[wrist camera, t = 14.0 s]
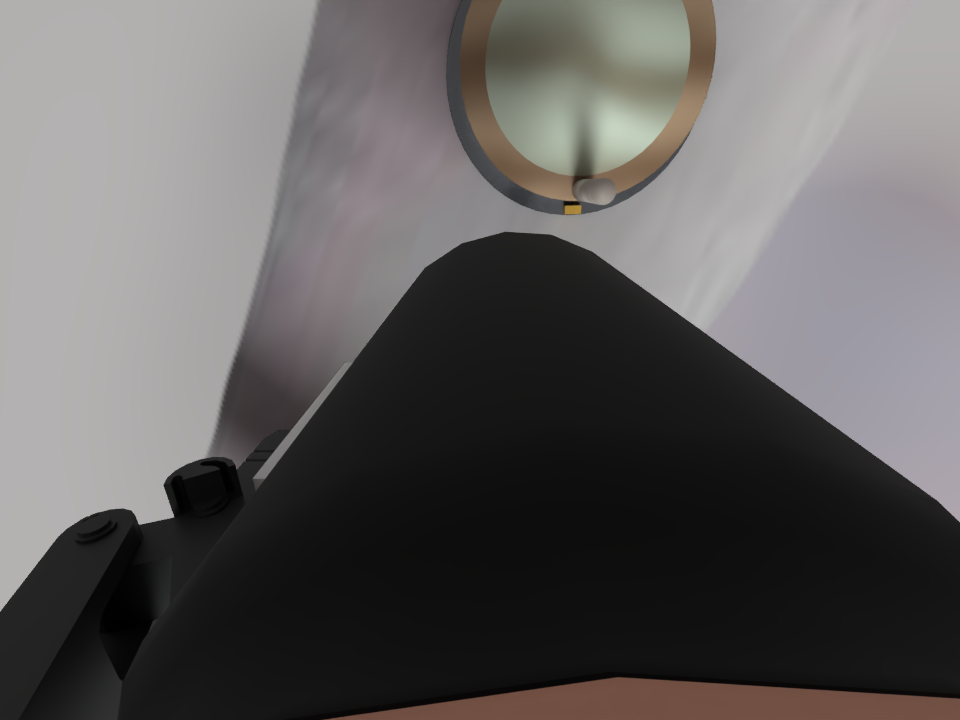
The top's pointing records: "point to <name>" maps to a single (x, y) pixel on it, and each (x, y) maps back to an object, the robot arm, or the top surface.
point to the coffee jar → (562, 532)
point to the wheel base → (488, 167)
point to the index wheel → (584, 88)
